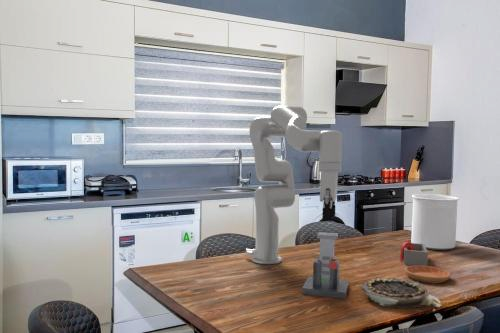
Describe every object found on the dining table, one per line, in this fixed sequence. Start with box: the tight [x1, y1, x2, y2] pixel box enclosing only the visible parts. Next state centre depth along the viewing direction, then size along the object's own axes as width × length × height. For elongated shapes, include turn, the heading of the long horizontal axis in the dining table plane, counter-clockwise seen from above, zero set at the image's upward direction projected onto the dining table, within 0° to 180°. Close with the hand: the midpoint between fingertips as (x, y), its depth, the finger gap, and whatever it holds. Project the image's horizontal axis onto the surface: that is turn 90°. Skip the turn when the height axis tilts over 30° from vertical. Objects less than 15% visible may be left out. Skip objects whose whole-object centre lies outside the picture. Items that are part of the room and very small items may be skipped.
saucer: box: [404, 265, 452, 284], centre depth 175 cm, size 16×16×3 cm
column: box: [316, 231, 339, 286], centre depth 157 cm, size 6×5×17 cm
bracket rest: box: [402, 241, 429, 266], centre depth 199 cm, size 9×16×6 cm, turn 164°
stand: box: [301, 256, 349, 299], centre depth 158 cm, size 14×14×11 cm
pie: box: [358, 277, 442, 312], centre depth 151 cm, size 28×27×5 cm
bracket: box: [399, 241, 414, 263], centre depth 199 cm, size 12×4×8 cm, turn 121°
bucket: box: [410, 193, 460, 251], centre depth 229 cm, size 26×22×24 cm
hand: (328, 218), depth 156 cm, fingers open, 9 cm apart
